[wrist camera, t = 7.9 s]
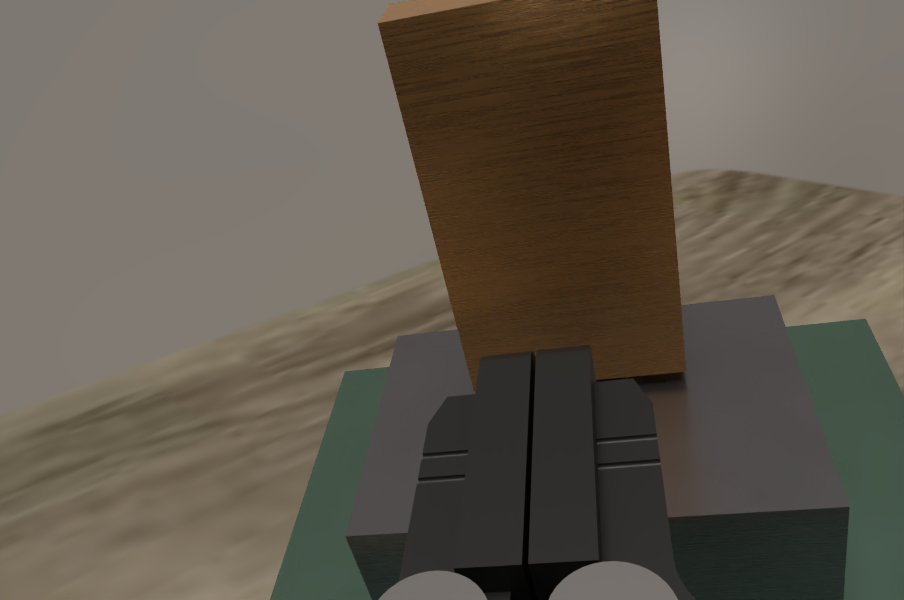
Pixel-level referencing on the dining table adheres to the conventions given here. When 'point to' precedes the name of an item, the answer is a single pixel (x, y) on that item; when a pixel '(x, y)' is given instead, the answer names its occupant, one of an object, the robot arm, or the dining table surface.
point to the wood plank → (545, 174)
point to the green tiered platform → (681, 455)
